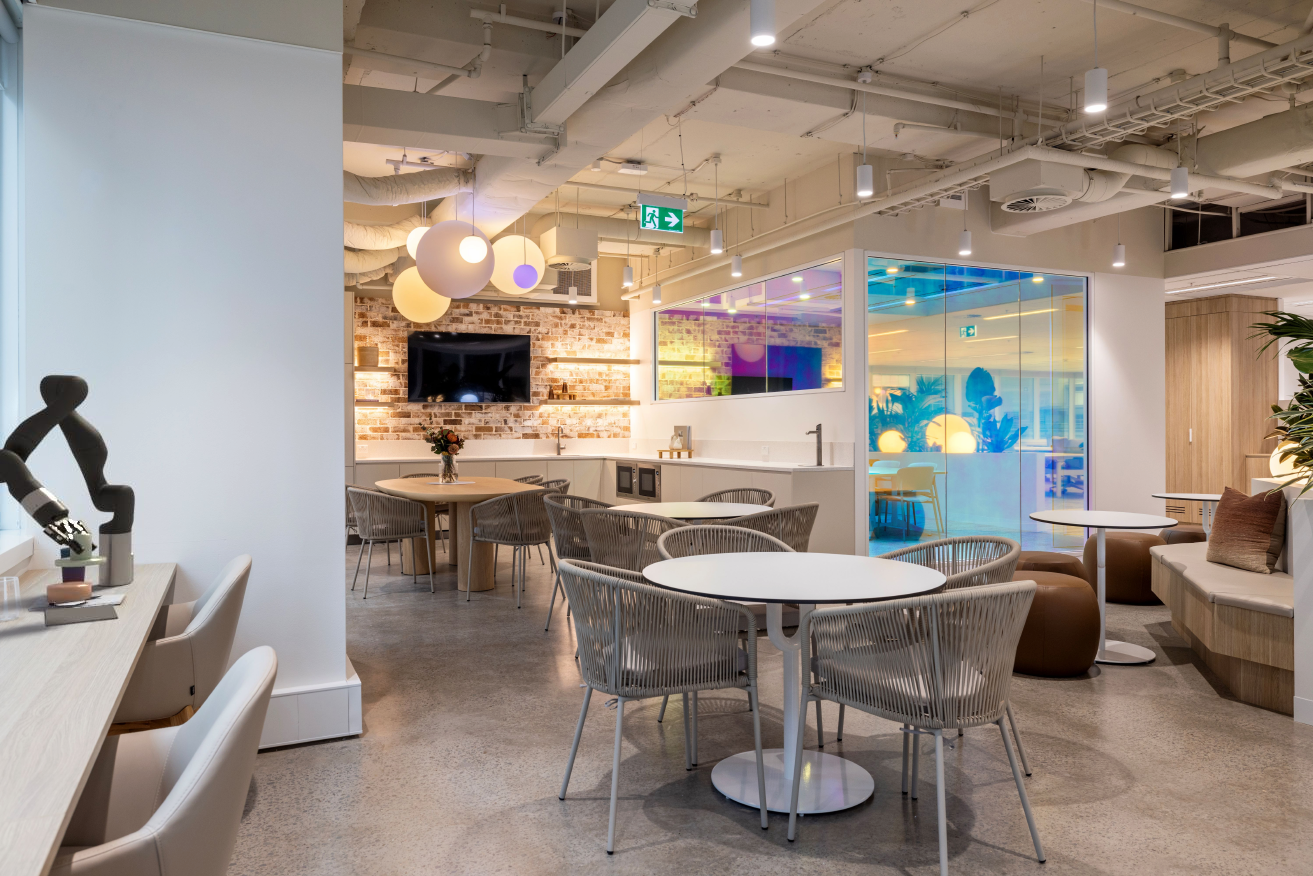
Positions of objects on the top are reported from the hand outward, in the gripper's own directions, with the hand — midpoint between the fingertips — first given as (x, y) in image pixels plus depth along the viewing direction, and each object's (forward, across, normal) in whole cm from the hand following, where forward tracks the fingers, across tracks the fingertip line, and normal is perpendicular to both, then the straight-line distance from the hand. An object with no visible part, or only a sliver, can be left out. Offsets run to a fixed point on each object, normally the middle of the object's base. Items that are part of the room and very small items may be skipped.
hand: (87, 550), depth 235 cm
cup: (-1, +25, +27) cm, 36 cm away
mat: (+12, 0, +14) cm, 18 cm away
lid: (+1, 0, +4) cm, 4 cm away
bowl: (+3, +14, +23) cm, 27 cm away
